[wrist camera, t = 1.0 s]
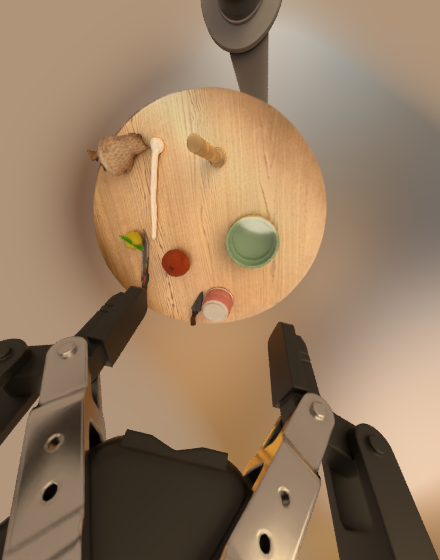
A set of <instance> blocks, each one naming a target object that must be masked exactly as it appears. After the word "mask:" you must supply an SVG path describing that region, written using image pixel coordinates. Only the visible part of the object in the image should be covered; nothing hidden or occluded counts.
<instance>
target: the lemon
mask: <svg viewBox="0 0 440 560" xmlns="http://www.w3.org/2000/svg"><path fill="white" fill-rule="evenodd" d="M119 236H120V235H119ZM120 237H121V238H122V239H123V240H124V242H125V244H126V246H127V247H129V248H131V249H139V250H141V251H143V250H144V247H143V246H142V245H141V244H142V238H141V236H140V235H139V234H138V233H137V232H134V231H130V232H128V233H126V234H125V236H120Z"/></svg>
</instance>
